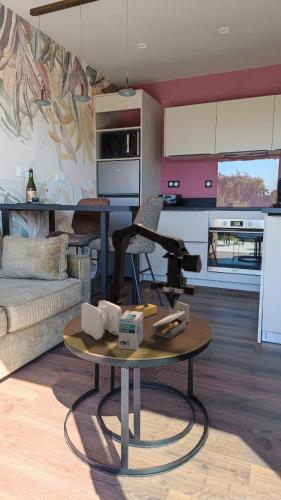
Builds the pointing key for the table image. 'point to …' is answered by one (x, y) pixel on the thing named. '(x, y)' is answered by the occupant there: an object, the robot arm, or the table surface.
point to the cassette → (182, 308)
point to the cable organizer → (100, 318)
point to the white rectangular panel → (168, 318)
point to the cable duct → (169, 329)
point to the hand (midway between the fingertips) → (172, 308)
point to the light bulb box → (130, 330)
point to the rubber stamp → (146, 305)
